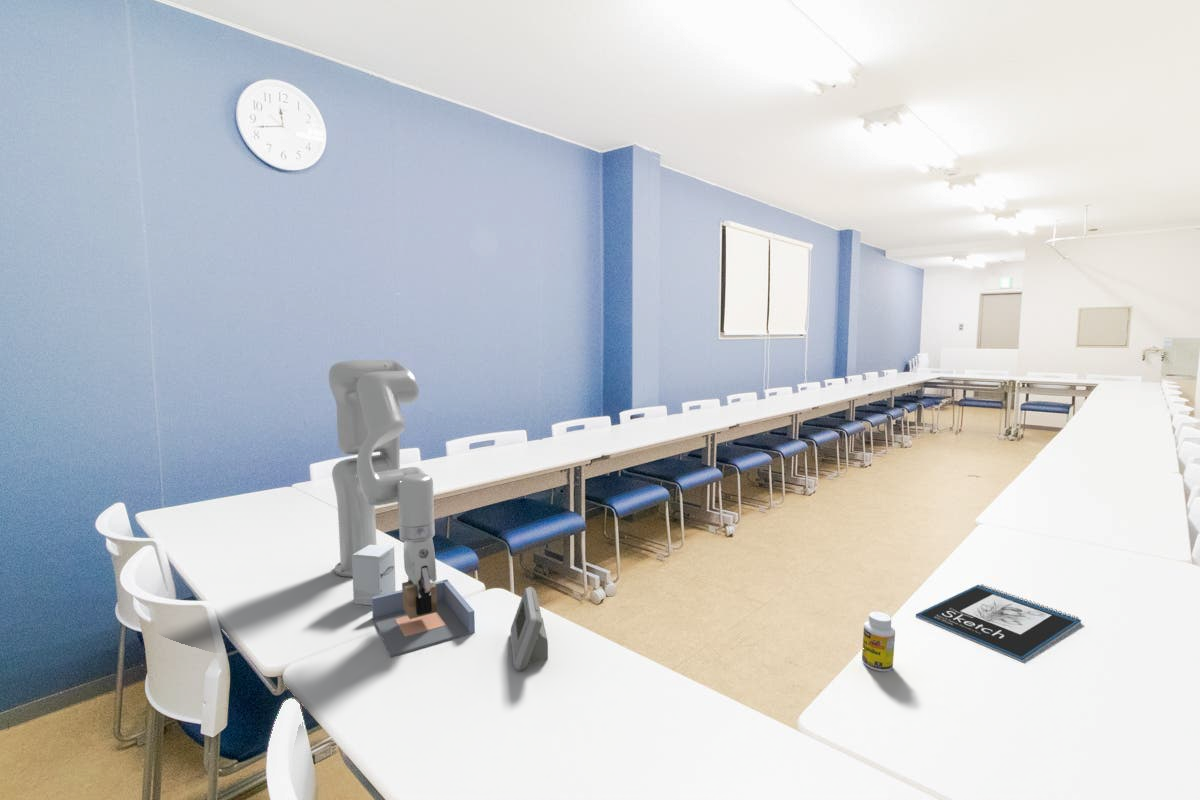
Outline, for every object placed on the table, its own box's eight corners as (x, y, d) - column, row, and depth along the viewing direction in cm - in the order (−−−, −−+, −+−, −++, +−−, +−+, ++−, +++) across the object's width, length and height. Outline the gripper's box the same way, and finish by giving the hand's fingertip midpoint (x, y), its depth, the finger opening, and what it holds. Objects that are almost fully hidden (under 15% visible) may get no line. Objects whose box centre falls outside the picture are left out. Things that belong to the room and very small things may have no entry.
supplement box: (380, 607, 135) (377, 556, 133) (352, 604, 136) (350, 554, 135) (396, 593, 142) (395, 545, 140) (370, 590, 143) (368, 543, 142)
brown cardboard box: (429, 601, 130) (428, 576, 129) (437, 611, 125) (436, 585, 124) (403, 608, 127) (402, 582, 126) (409, 619, 122) (408, 592, 121)
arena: (372, 617, 129) (371, 597, 129) (447, 598, 139) (447, 579, 138) (391, 657, 113) (390, 633, 113) (474, 632, 123) (474, 610, 122)
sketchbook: (915, 619, 130) (915, 611, 130) (979, 589, 146) (979, 582, 146) (1022, 664, 112) (1022, 654, 112) (1082, 625, 128) (1083, 616, 127)
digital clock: (512, 630, 124) (511, 584, 123) (552, 630, 124) (552, 584, 123) (499, 673, 108) (498, 621, 107) (545, 673, 108) (545, 621, 107)
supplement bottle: (855, 660, 112) (858, 612, 111) (874, 654, 115) (877, 607, 114) (879, 675, 107) (882, 625, 106) (899, 668, 110) (902, 619, 108)
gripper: (445, 537, 119) (448, 618, 120) (423, 516, 133) (426, 589, 135) (409, 544, 115) (413, 628, 116) (390, 522, 129) (393, 596, 131)
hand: (420, 606), depth 126 cm, fingers closed on brown cardboard box, 6 cm apart
